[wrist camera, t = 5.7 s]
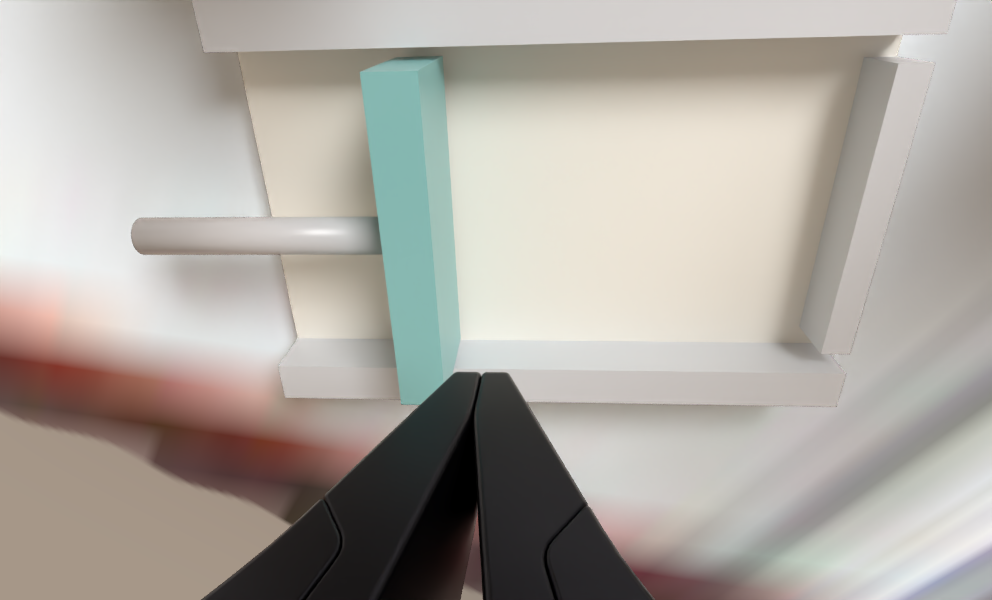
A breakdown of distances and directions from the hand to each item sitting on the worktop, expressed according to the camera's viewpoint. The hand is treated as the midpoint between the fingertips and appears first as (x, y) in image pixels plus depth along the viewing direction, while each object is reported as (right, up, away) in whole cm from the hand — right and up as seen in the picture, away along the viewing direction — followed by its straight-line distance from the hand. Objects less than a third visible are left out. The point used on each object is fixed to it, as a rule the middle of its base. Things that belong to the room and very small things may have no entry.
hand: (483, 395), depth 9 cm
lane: (+2, +4, +9) cm, 10 cm away
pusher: (-5, +4, +8) cm, 10 cm away
